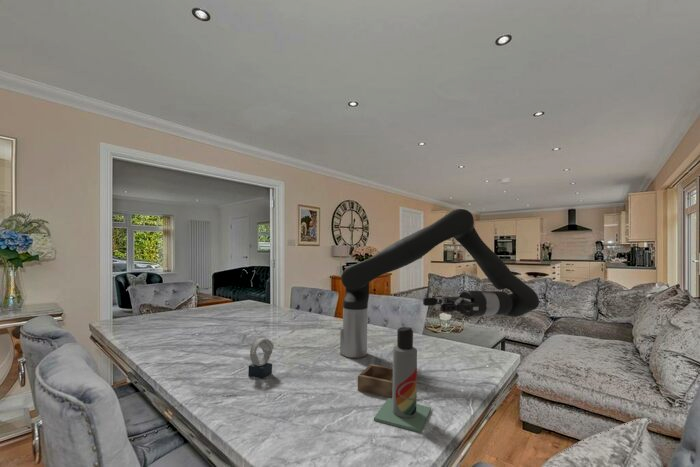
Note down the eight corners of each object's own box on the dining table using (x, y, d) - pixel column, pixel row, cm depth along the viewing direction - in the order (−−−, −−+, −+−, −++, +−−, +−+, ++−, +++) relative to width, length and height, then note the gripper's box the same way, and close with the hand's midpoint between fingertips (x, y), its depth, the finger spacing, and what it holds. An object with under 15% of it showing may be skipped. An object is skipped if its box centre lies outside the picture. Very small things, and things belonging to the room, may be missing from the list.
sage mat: (373, 420, 74) (373, 417, 74) (388, 400, 84) (388, 397, 84) (421, 432, 69) (421, 430, 69) (431, 409, 79) (431, 407, 79)
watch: (275, 371, 101) (276, 336, 101) (259, 381, 93) (260, 343, 94) (261, 368, 103) (262, 334, 104) (244, 377, 96) (245, 340, 96)
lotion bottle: (416, 420, 73) (417, 331, 74) (391, 417, 74) (392, 329, 75) (416, 407, 78) (417, 325, 79) (393, 405, 80) (394, 324, 80)
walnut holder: (357, 390, 89) (357, 375, 89) (370, 377, 98) (370, 364, 98) (392, 398, 85) (392, 382, 85) (402, 383, 94) (402, 369, 94)
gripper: (463, 287, 102) (419, 287, 96) (497, 294, 88) (448, 295, 83) (462, 311, 102) (418, 312, 96) (496, 321, 88) (447, 324, 83)
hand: (432, 304), depth 90 cm, fingers open, 8 cm apart
